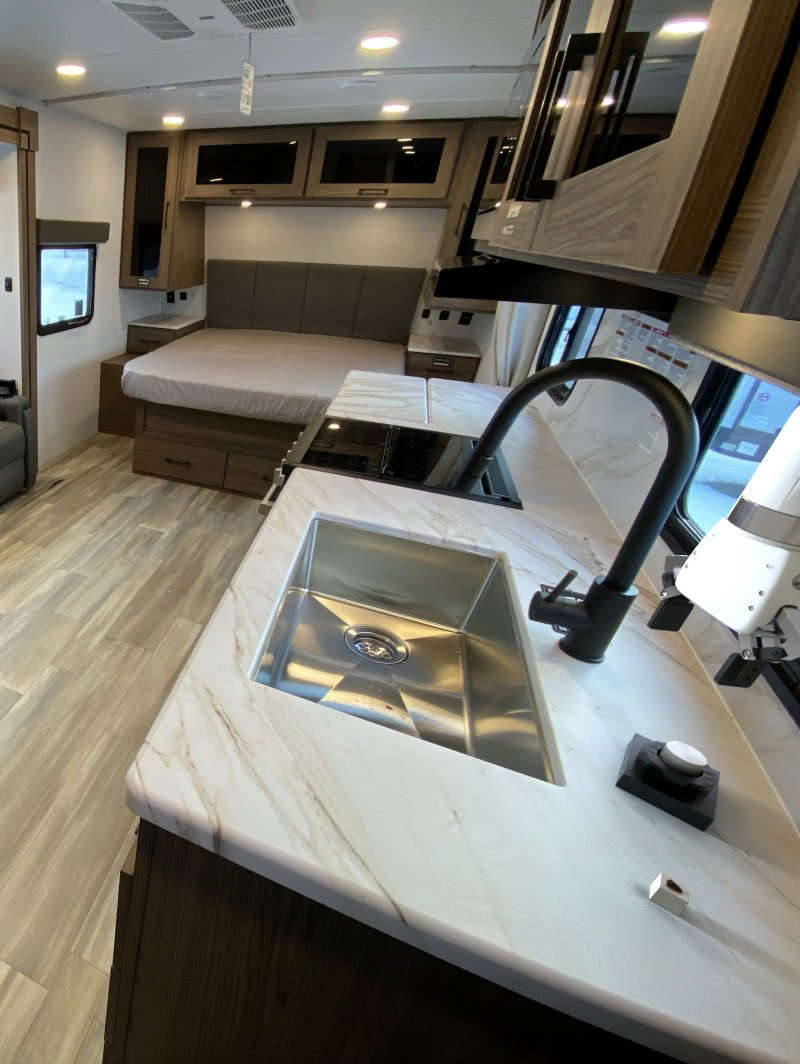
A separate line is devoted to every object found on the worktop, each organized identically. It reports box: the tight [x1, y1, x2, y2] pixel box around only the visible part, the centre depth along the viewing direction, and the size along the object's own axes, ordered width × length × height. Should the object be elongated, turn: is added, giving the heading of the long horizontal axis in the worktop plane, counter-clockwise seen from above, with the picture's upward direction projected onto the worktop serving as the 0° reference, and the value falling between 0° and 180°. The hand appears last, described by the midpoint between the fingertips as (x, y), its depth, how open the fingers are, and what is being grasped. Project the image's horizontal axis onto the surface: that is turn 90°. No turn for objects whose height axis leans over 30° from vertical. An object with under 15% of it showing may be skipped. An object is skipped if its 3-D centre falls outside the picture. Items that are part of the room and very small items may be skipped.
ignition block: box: [614, 732, 721, 833], centre depth 70 cm, size 10×8×4 cm
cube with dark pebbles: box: [648, 872, 691, 917], centre depth 58 cm, size 2×2×2 cm
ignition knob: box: [659, 740, 709, 777], centre depth 69 cm, size 4×4×2 cm
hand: (693, 655), depth 66 cm, fingers open, 9 cm apart
